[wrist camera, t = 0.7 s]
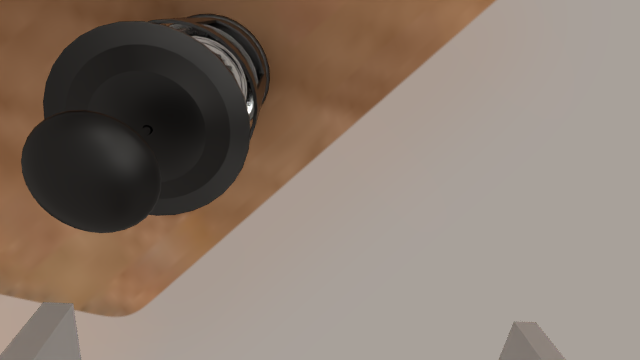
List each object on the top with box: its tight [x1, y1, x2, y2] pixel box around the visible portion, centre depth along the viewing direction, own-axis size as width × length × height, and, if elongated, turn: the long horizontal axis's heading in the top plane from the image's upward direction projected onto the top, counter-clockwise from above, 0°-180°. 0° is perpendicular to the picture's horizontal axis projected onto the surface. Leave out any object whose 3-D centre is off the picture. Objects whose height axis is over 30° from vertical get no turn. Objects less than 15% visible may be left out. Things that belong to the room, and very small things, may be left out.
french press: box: [21, 14, 270, 233], centre depth 23 cm, size 12×9×23 cm
